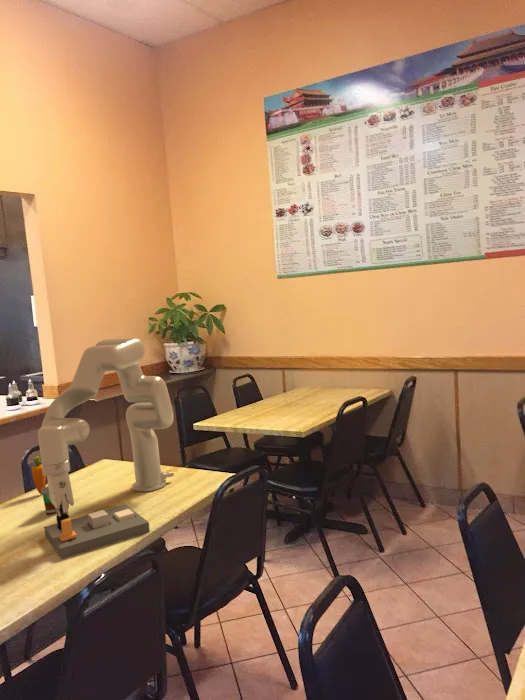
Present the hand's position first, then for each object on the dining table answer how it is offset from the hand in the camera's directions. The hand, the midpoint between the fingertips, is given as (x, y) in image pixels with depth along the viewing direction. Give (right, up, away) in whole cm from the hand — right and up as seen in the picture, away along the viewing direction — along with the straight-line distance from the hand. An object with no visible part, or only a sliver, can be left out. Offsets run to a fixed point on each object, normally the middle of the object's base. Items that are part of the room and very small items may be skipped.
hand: (64, 527), depth 172 cm
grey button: (+8, -2, +7) cm, 11 cm away
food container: (-11, -3, +30) cm, 32 cm away
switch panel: (+8, -4, +6) cm, 11 cm away
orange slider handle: (+2, -2, -3) cm, 4 cm away
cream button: (+15, -3, +11) cm, 19 cm away
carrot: (-24, -2, +48) cm, 53 cm away
